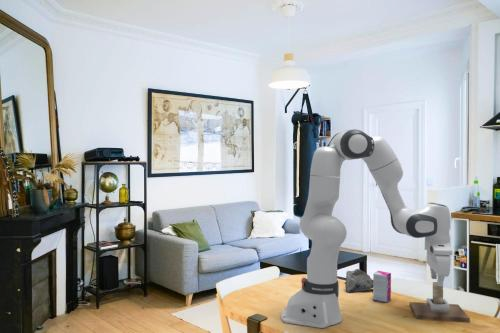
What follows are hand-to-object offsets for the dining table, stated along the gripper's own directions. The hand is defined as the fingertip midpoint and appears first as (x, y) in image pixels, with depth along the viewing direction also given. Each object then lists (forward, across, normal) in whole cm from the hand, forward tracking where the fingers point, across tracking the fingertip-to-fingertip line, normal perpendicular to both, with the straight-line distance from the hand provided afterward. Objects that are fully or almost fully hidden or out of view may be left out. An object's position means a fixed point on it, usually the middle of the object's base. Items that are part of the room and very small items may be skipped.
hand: (436, 282), depth 156 cm
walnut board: (+12, 0, +1) cm, 12 cm away
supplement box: (+12, -12, -18) cm, 25 cm away
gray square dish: (+10, 0, 0) cm, 11 cm away
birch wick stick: (+10, 0, 0) cm, 11 cm away
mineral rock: (+13, -23, -27) cm, 37 cm away
